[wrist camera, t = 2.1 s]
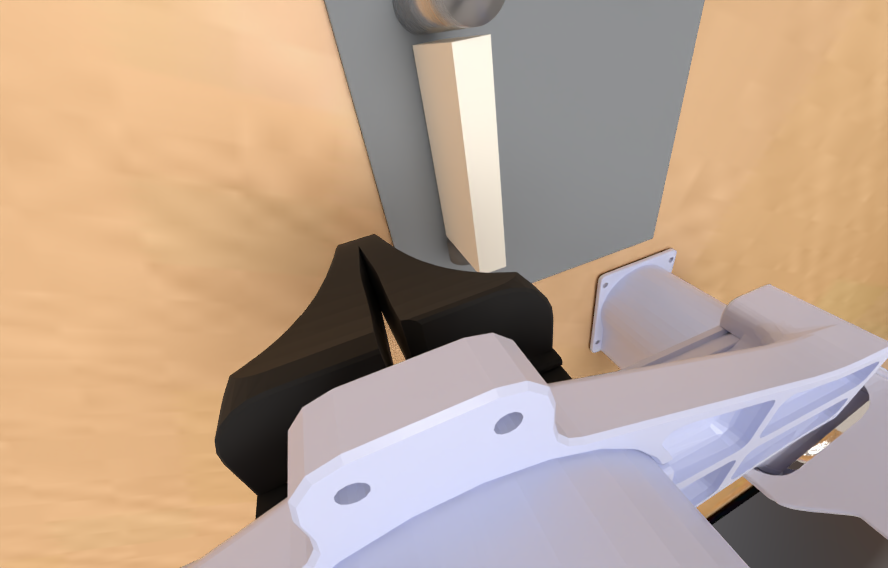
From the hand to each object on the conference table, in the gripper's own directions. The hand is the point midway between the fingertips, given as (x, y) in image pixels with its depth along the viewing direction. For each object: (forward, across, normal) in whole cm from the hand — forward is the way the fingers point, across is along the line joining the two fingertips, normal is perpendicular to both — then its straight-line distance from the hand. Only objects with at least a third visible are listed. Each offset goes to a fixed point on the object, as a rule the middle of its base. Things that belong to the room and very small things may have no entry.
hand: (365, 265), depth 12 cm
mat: (+9, -12, +1) cm, 15 cm away
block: (+8, -6, 0) cm, 10 cm away
